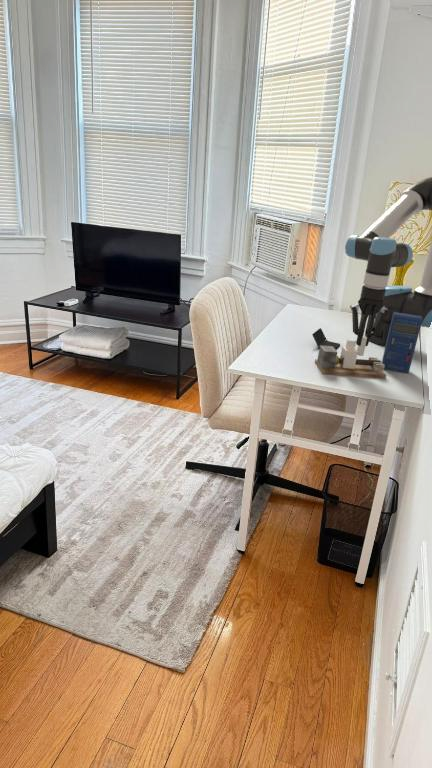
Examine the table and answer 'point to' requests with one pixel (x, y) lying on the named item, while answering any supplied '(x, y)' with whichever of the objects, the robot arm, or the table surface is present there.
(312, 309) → the table surface
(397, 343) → the electronic device
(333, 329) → the table surface
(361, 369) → the comb board
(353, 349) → the flanged slider block
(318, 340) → the handheld gaming console
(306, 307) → the table surface
